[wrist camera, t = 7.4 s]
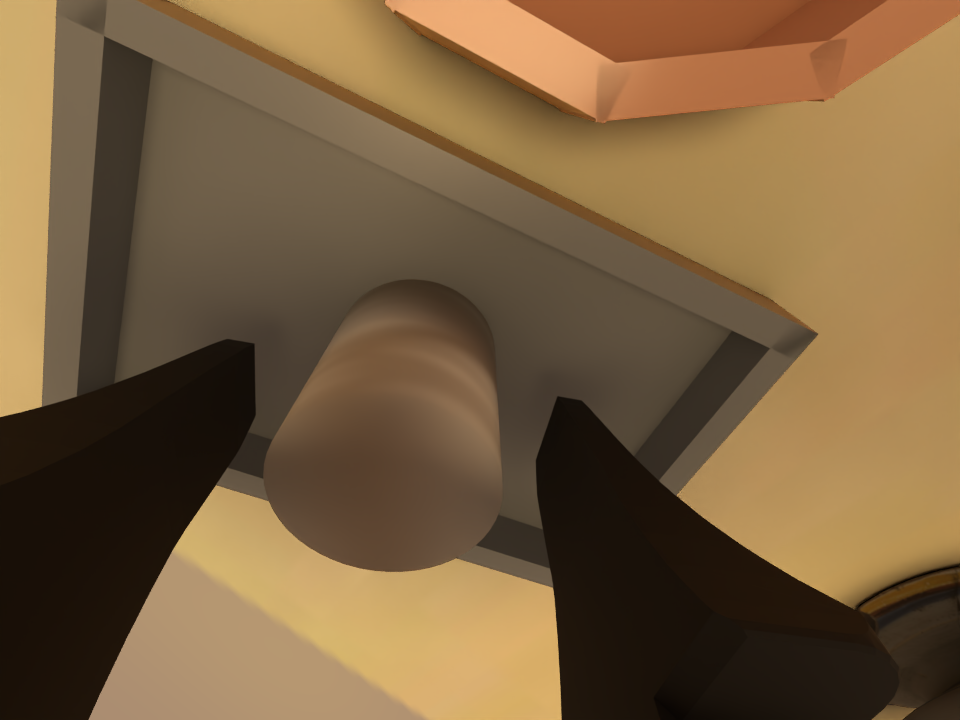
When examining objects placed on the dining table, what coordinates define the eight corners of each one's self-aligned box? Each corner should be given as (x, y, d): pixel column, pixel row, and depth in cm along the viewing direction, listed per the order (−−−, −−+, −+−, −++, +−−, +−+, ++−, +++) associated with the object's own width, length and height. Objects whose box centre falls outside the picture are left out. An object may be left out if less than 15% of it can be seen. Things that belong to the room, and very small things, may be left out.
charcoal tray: (771, 299, 14) (818, 334, 12) (574, 545, 19) (585, 597, 17) (136, -15, 10) (58, -38, 8) (95, 387, 15) (41, 431, 13)
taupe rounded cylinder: (509, 295, 13) (527, 415, 8) (478, 427, 15) (478, 583, 10) (343, 265, 13) (261, 373, 8) (334, 404, 15) (265, 556, 10)
